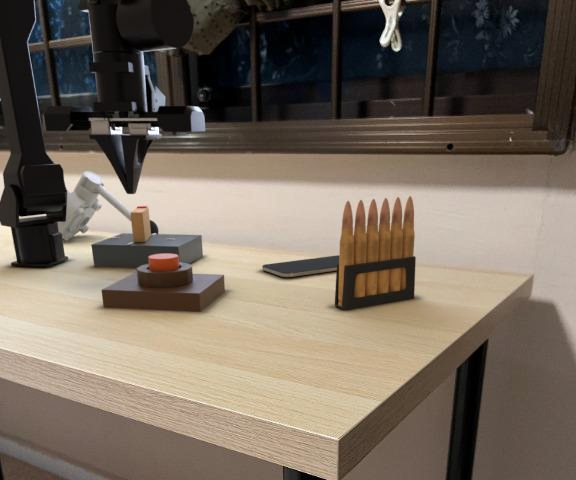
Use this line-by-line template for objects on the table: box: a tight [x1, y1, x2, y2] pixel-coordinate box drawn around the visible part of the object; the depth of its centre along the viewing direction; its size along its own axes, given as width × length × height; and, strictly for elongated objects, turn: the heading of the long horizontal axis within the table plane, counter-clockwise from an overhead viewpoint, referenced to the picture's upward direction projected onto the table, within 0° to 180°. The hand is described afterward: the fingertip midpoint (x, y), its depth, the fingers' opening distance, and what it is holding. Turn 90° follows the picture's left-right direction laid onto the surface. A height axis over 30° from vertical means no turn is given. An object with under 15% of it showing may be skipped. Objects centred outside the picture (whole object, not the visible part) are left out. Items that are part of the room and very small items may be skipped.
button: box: [148, 253, 179, 271], centre depth 74 cm, size 4×4×2 cm
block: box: [130, 205, 151, 242], centre depth 96 cm, size 6×2×5 cm, turn 4°
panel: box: [91, 232, 204, 269], centre depth 97 cm, size 14×11×4 cm
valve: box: [57, 170, 159, 242], centre depth 117 cm, size 10×20×15 cm
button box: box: [101, 262, 226, 313], centre depth 75 cm, size 12×10×4 cm
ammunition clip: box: [334, 195, 417, 311], centre depth 71 cm, size 11×2×12 cm, turn 120°
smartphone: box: [261, 254, 339, 278], centre depth 91 cm, size 7×1×15 cm
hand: (131, 193), depth 77 cm, fingers closed
